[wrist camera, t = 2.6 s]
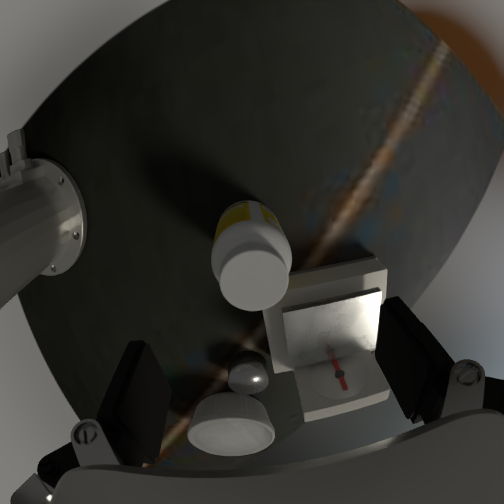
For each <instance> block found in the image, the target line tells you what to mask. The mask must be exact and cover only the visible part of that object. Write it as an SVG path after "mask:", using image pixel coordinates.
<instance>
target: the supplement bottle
mask: <svg viewBox="0 0 504 504" xmlns="http://www.w3.org/2000/svg"><path fill="white" fill-rule="evenodd" d="M291 263H292V253H291V249H290V246H289V243H288V240H287V238H286V236H285V235H284V232H283V231H282V229H281V227H280V225H279V222H278V220H277V218H276V217H275V215H274V214H273V212H272V211H271V210H270V209H269V208H268V207H267V206H265V205H263V204H261V203H259V202H256V201H241V202H237V203H235V204H233V205H231V206H230V207H228V208H227V209H226V210H225V211H224V212H223V214H222V215H221V217H220V219H219V222H218V225H217V230H216V234H215V238H214V243H213V249H212V255H211V264H212V269H213V272H214V275H215V277H216V279H217V280H218V282H219V285H220V289H221V292H222V294H223V296H224V297H225V299H226V300H227V301H228V302H229V303H231V304H232V305H233V306H235V307H237V308H240V309H242V310H247V311H259V310H264V309H267V308H269V307H271V306H273V305H275V304H276V303H277V302H278V301H279V300H280V299H281V298H282V297H283V296H284V294H285V292H286V290H287V287H288V283H289V275H288V274H289V272H290V269H291Z"/></svg>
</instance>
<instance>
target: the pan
mask: <svg viewBox="0 0 504 504" xmlns="http://www.w3.org/2000/svg"><path fill="white" fill-rule="evenodd" d="M381 294H382V291H381V290H380V289H379V287H375V288H371V289H367V290H362V291H358V292H354V293H350V294H345V295H341V296H336V297H332V298H327V299H323V300H318V301H313V302H308V303H303V304H298V305H293V306H288V307H283V308H281V309H282V316H283V323H284V330H285V337H286V344H287V351H288V359H289V365H290V368H293V367H298V366H303V365H307V364H312V363H316V362H321V361H325V360H329V359H334V358H338V357H342V356H346V355H349V354H353V353H357V352H360V351H364V350H367V349H371V348H374V347H376V340H377V332H378V322H379V311H380V305H381Z"/></svg>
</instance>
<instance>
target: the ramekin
mask: <svg viewBox="0 0 504 504" xmlns="http://www.w3.org/2000/svg"><path fill="white" fill-rule="evenodd" d="M187 436H188V440H189V441H190V442H191V443H192V444H193V445H194V446H196V447H197V448H199V449H201V450H203V451H205V452H208V453H211V454H216V455H223V456H241V455H247V454H252V453H255V452H258V451H261V450H263V449H265V448H266V447H268V446H269V445H270V444H271V443H272V442H273V440H274V438H275V431H274V428H273V426H272V424H271V423H270V420H269V417H268V415H267V412H266V409H265V408H264V406H263V405H262V403H261V402H259V401H258V400H257V399H255V398H254V397H252V396H249V395H246V394H240V393H237V392H222V393H217V394H213V395H210V396H208V397H206V398H205V399H203V400H202V401H201V402H200V403H199V404H198V406H197V407H196V409H195V412H194V415H193V418H192V421H191V424H190V425H189V427H188V431H187Z"/></svg>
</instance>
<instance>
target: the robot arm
mask: <svg viewBox="0 0 504 504" xmlns="http://www.w3.org/2000/svg"><path fill="white" fill-rule="evenodd" d="M7 138H8V145H9V152H10V153H11V159H12V165H11V166H10V158H9V152H8V151H5V152H2V153H0V170H1V177H0V309H1V308H2V307H3V306H4V305H5V304H6V303H7V302H8V301H9V300H11V299H12V298H13V297H14V296H15V295H16V294H17V293H18V292H19V291H20V290H22V289H23V288H24V287H25V286H26V285H27V284H28V283H29V282H31V281H32V280H33V279H34V278H35V277H36V276H38V275H39V274H43V275H47V276H50V275H58V274H61V273H63V272H65V271H66V270H68V269H69V268H70V267H71V266H72V265H73V264H75V262H76V261H77V260H78V258H79V257H80V255H81V253H82V251H83V248H84V245H85V241H86V234H87V215H86V210H85V205H84V201H83V198H82V195H81V192H80V190H79V188H78V186H77V184H76V182H75V180H74V179H73V178H72V176H71V175H70V174H69V172H68V171H67V170H66V169H65V168H64V167H62V166H61V165H60V164H58V163H57V162H55V161H53V160H49V159H46V158H37V159H32V160H31V158H27V155H26V148H25V147H26V142H25V134H24V129H18V130H15V131H13V132H11V133H9V134H8V136H7ZM375 357H376V360H377V362H378V364H379V366H380V368H381V370H382V372H383V374H384V375H385V377H386V379H387V381H388V383H389V385H390V387H391V389H392V391H393V393H394V395H395V397H396V398H397V401H398V403H399V405H400V407H401V409H402V411H403V413H404V415H405V417H406V418H407V419H411V421H412V423H413V424H415V423H418V422H420V421H422V420H423V421H424V424H425V425H423V426H420V427H418V428H416V429H413V430H410V431H408V432H405V433H402V434H400V435H397V436H395V437H392V438H389V439H386V440H383V441H380V442H377V443H374V444H371V445H368V446H365V447H361V448H358V449H354V450H350V451H347V452H343V453H339V454H335V455H331V456H327V457H323V458H318V459H313V460H308V461H302V462H297V463H290V464H284V465H277V466H269V467H260V468H250V469H235V470H171V469H155V468H144V467H142V465H143V463H148V464H154V463H155V458H158V457H159V454H160V448H161V443H162V438H163V433H164V428H165V423H166V418H167V414H168V409H169V404H170V400H171V395H172V389H171V386H170V384H169V382H168V380H167V378H166V376H165V375H164V373H163V371H162V369H161V367H160V365H159V363H158V361H157V359H156V357H155V355H154V353H153V351H152V349H151V347H150V345H149V344H148V343H145V342H144V341H143V340H138V341H130V342H129V343H128V345H127V347H126V350H125V352H124V354H123V356H122V358H121V360H120V363H119V365H118V367H117V369H116V371H115V374H114V376H113V378H112V380H111V383H110V385H109V387H108V390H107V392H106V394H105V397H104V399H103V401H102V404H101V406H100V409H99V411H98V414H97V416H98V417H97V419H96V421H95V420H93V419H85V420H82V421H80V422H79V423H77V424H76V425H75V426H74V428H73V429H72V431H71V442H70V443H68V444H66V445H64V446H62V447H61V448H59V449H57V450H55V451H54V452H52V453H50V454H48V455H46V456H45V457H43V458H42V459H41V460H40V462H39V464H38V468H37V472H38V474H37V475H36V474H35V473H34V474H33V475H32V476H31V477H30V478H29V479H28V480H27V481H26V482H25V483H24V484H22V486H21V487H20V488H19V489H17V490H16V491H15V492H14V493H13V495H12V497H11V500H10V501H11V504H504V380H500V379H496V378H491V377H486V376H485V371H484V369H483V367H482V366H481V365H480V364H479V363H477V362H476V361H473V360H469V359H467V360H466V359H464V360H460V361H458V362H456V363H455V362H454V361H453V360H452V358H451V357H450V356H449V355H448V353H447V352H446V351H445V350H444V348H443V347H442V346H441V344H440V343H439V342H438V341H437V339H436V338H435V337H434V336H433V335H432V333H431V332H430V331H429V330H428V329H427V327H426V326H425V325H424V324H423V323H421V322H420V321H419V319H418V318H417V317H416V316H415V315H414V314H413V312H412V311H411V310H410V309H409V308H408V307H407V305H406V304H405V303H404V302H403V301H402V300H401V299H400V298H399V297H398V296H395V297H392V298H388V299H385V300H384V302H383V304H381V305H380V311H379V322H378V332H377V340H376V348H375Z"/></svg>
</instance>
